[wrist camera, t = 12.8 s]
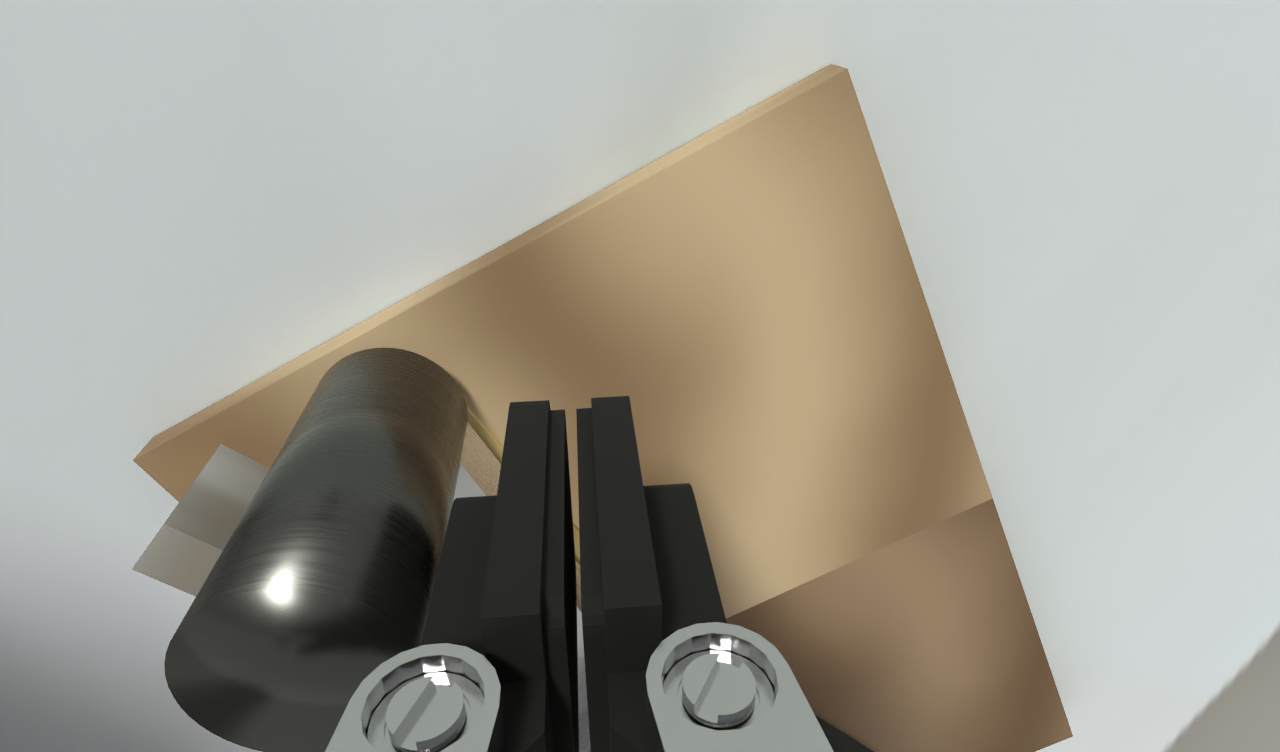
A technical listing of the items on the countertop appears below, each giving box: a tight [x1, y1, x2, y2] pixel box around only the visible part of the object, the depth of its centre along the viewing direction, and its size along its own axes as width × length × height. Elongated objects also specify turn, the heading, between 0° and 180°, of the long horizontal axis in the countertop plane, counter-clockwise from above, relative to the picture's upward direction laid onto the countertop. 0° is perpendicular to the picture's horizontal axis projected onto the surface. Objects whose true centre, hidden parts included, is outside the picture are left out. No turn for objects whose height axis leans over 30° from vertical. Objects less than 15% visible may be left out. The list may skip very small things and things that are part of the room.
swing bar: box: [165, 348, 591, 752], centre depth 13 cm, size 12×3×6 cm, turn 28°
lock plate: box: [132, 64, 1073, 752], centre depth 17 cm, size 15×21×3 cm
